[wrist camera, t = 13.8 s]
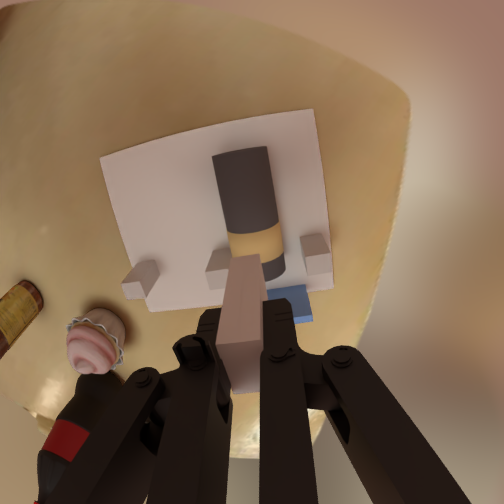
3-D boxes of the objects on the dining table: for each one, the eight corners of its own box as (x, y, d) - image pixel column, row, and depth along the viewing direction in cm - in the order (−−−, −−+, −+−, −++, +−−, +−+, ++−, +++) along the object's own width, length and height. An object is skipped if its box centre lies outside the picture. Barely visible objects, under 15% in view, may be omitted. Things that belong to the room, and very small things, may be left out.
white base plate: (102, 157, 29) (68, 167, 23) (311, 109, 27) (325, 104, 20) (151, 308, 37) (134, 342, 31) (332, 284, 34) (345, 318, 28)
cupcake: (131, 303, 37) (100, 352, 28) (139, 353, 40) (117, 403, 31) (75, 292, 37) (38, 334, 27) (87, 341, 40) (60, 384, 31)
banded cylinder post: (226, 151, 29) (200, 159, 24) (274, 144, 27) (255, 150, 22) (247, 259, 33) (228, 282, 29) (291, 259, 31) (277, 284, 27)
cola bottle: (83, 380, 45) (22, 508, 17) (86, 354, 42) (9, 500, 14) (123, 400, 46) (73, 536, 19) (130, 377, 43) (70, 534, 16)
